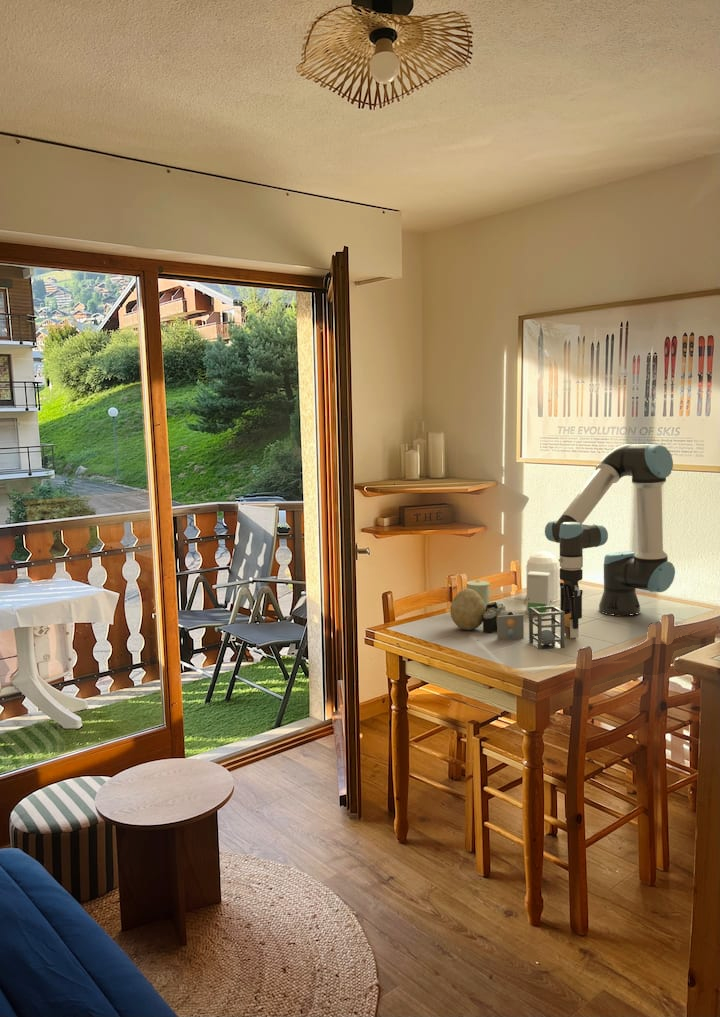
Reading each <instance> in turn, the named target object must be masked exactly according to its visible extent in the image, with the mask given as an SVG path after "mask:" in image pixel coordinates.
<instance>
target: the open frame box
mask: <svg viewBox="0 0 720 1017" xmlns="http://www.w3.org/2000/svg"><path fill="white" fill-rule="evenodd" d="M543 609H549V610H551V611H549V612H548V613H539V612H538V611H536V610H543ZM533 612H534V613H535V615H537V618H534V614H533ZM545 616H546V617H545ZM547 616H551V617H547ZM556 616H559V617H560V620H559V619H557V618H556ZM548 621H549V622H551V623H550V624H549V623H548V624H543V622H548ZM534 626H535V627H536V628H537V633H535V632H534ZM558 627H560V635H559V634H558V633H556V628H558ZM528 628H529V629H528V631H529V632H528V637H529V638H528V640H529V641H528V642H529V643H530V644H531V645H532V646H533V647H535V648H536V649H537V650H538V651H539V650H552V649H553V650H554V649H565V646H566V643H565V642H566V641H565V639H566V633H565V612H564V611H562V610H560V608H559V607H557V606H555V605H550V606H544V607H529V613H528ZM546 628H551V630H550V631H551V632H552V633H553V634H554V639H547V640H542V631H543V629H546ZM534 640H535V641H534ZM548 642H553V643H552V644H550V645H544V644H542V643H548Z"/></svg>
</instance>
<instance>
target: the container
mask: <svg viewBox="0 0 720 1017" xmlns="http://www.w3.org/2000/svg"><path fill="white" fill-rule="evenodd" d="M525 571H526V575H527V574H528V573H529V572H530V571H535V572H546V573H550V601H553V600H557V599H558V598H559V599H560V562H559V560H558V559H557V557H556V556H555V555H554V554H552V553H551V552H549V551H545V550H544V551H536V552H535V553H533V554H531V555H530V557H529V558H528V560H527V564H526V570H525Z"/></svg>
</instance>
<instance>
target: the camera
mask: <svg viewBox="0 0 720 1017" xmlns="http://www.w3.org/2000/svg"><path fill="white" fill-rule="evenodd" d="M505 615H514V613H513V612H512V611H509V610H508V611H507V610H506V605H504V604H503V603H498V602H497V601H490V603H489V604H487V606H486V612H484V617H483V622H482V632H483V634H484V633H485V634H493V633H494V632H497V616H505Z"/></svg>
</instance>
